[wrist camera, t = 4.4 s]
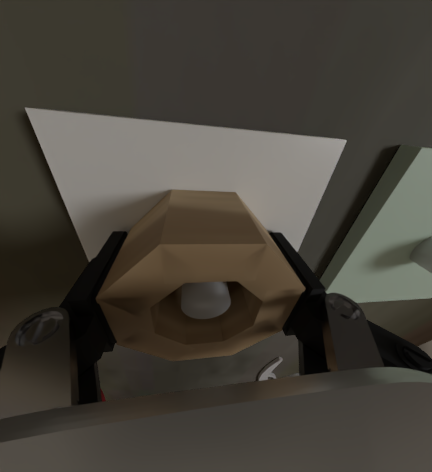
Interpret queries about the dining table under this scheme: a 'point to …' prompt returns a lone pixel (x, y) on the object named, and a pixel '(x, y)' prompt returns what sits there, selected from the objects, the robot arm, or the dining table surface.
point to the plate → (390, 236)
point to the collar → (197, 278)
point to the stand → (180, 177)
